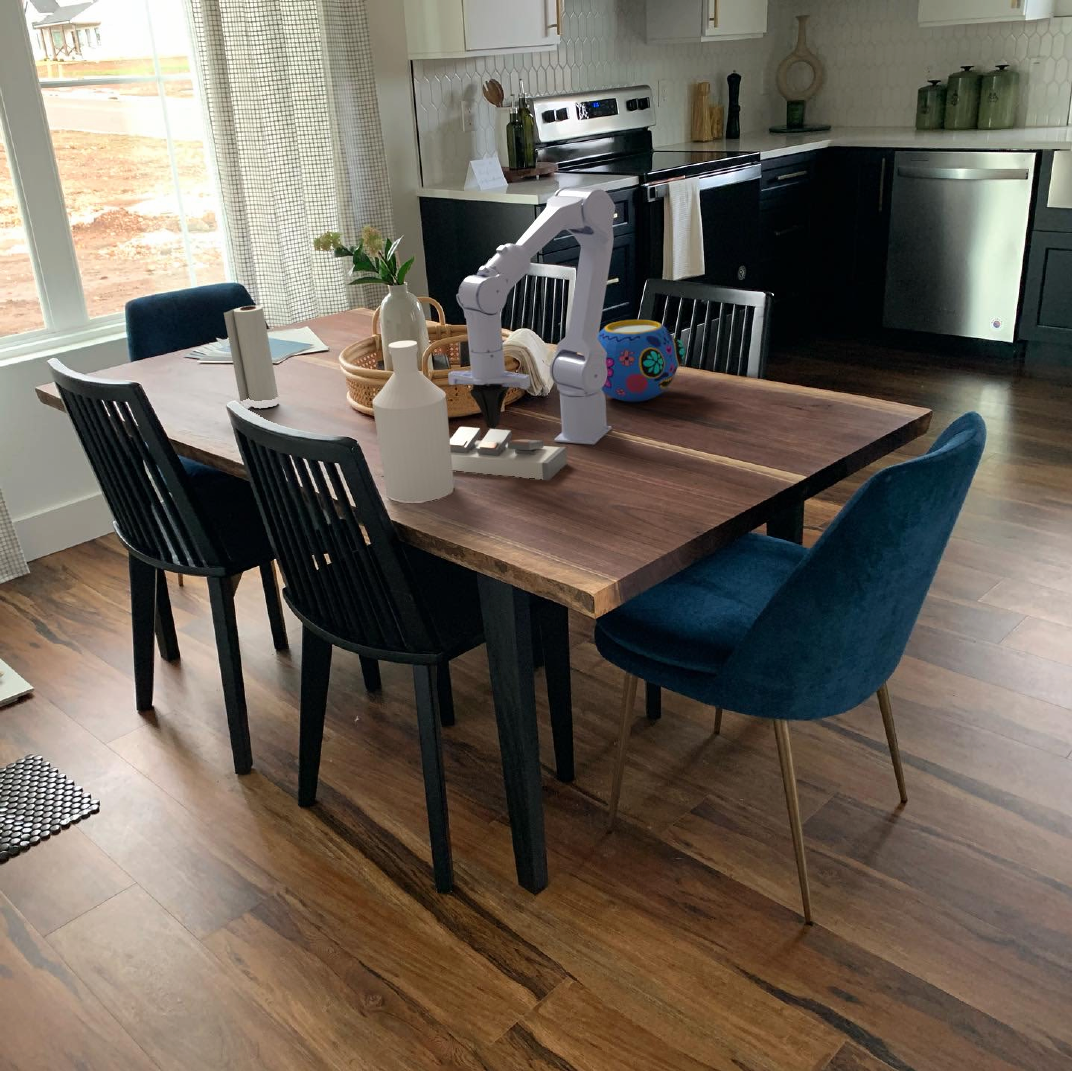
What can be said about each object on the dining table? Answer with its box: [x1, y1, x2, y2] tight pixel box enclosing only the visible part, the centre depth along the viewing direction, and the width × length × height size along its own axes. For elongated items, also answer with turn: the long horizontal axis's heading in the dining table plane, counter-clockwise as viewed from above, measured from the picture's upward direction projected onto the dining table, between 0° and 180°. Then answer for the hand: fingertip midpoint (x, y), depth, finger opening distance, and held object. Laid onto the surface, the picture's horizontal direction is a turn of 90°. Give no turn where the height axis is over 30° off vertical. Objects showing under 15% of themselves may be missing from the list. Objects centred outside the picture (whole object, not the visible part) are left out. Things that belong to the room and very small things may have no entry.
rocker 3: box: [508, 438, 544, 450], centre depth 183 cm, size 6×4×1 cm, turn 156°
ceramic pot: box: [598, 319, 686, 403], centre depth 215 cm, size 18×18×15 cm
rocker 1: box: [450, 426, 482, 453], centre depth 188 cm, size 6×4×1 cm, turn 156°
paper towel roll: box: [223, 305, 279, 402], centre depth 227 cm, size 7×6×21 cm
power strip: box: [449, 437, 568, 481], centre depth 188 cm, size 8×29×4 cm, turn 66°
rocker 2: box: [476, 428, 513, 456], centre depth 185 cm, size 6×4×1 cm, turn 156°
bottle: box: [371, 340, 455, 502], centre depth 174 cm, size 12×12×25 cm
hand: (492, 426), depth 184 cm, fingers closed
